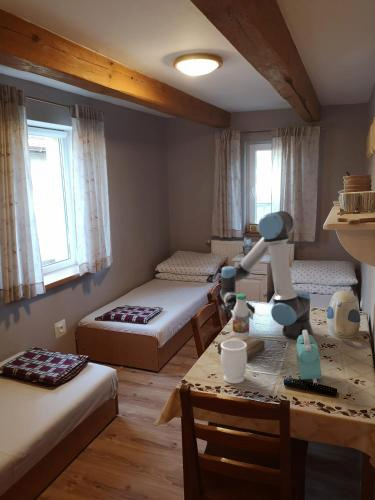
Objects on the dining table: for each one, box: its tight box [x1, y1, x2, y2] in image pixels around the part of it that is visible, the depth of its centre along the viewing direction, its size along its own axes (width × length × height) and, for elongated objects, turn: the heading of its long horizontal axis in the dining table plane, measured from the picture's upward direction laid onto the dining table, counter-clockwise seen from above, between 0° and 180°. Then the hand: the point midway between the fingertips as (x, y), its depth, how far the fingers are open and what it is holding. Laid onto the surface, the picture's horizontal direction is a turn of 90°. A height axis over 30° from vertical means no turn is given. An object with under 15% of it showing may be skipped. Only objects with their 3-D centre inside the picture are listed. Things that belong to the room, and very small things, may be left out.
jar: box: [220, 339, 248, 384], centre depth 159 cm, size 11×10×15 cm
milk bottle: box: [232, 293, 250, 339], centre depth 183 cm, size 8×8×20 cm
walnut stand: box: [217, 335, 266, 363], centre depth 185 cm, size 16×16×5 cm
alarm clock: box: [296, 330, 323, 384], centre depth 157 cm, size 17×10×20 cm, turn 168°
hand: (243, 317), depth 178 cm, fingers closed on milk bottle, 7 cm apart
